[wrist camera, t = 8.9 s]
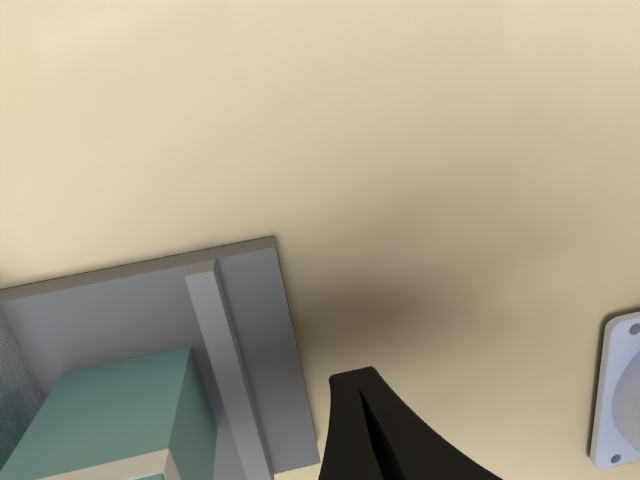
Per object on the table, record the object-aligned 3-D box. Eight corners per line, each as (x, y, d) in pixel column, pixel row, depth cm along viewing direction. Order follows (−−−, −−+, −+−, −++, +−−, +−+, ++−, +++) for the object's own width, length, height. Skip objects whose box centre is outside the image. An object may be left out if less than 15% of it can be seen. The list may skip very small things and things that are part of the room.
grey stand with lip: (273, 235, 14) (276, 258, 12) (317, 441, 17) (323, 481, 16) (-52, 300, 13) (-97, 333, 11) (60, 503, 16) (38, 551, 15)
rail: (-2, 302, 12) (-76, 369, 9) (105, 514, 16) (74, 609, 13) (-46, 311, 12) (-134, 381, 9) (71, 523, 16) (33, 620, 13)
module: (191, 344, 14) (161, 482, 9) (219, 429, 15) (205, 587, 10) (59, 373, 13) (-42, 531, 9) (100, 457, 15) (30, 633, 10)
